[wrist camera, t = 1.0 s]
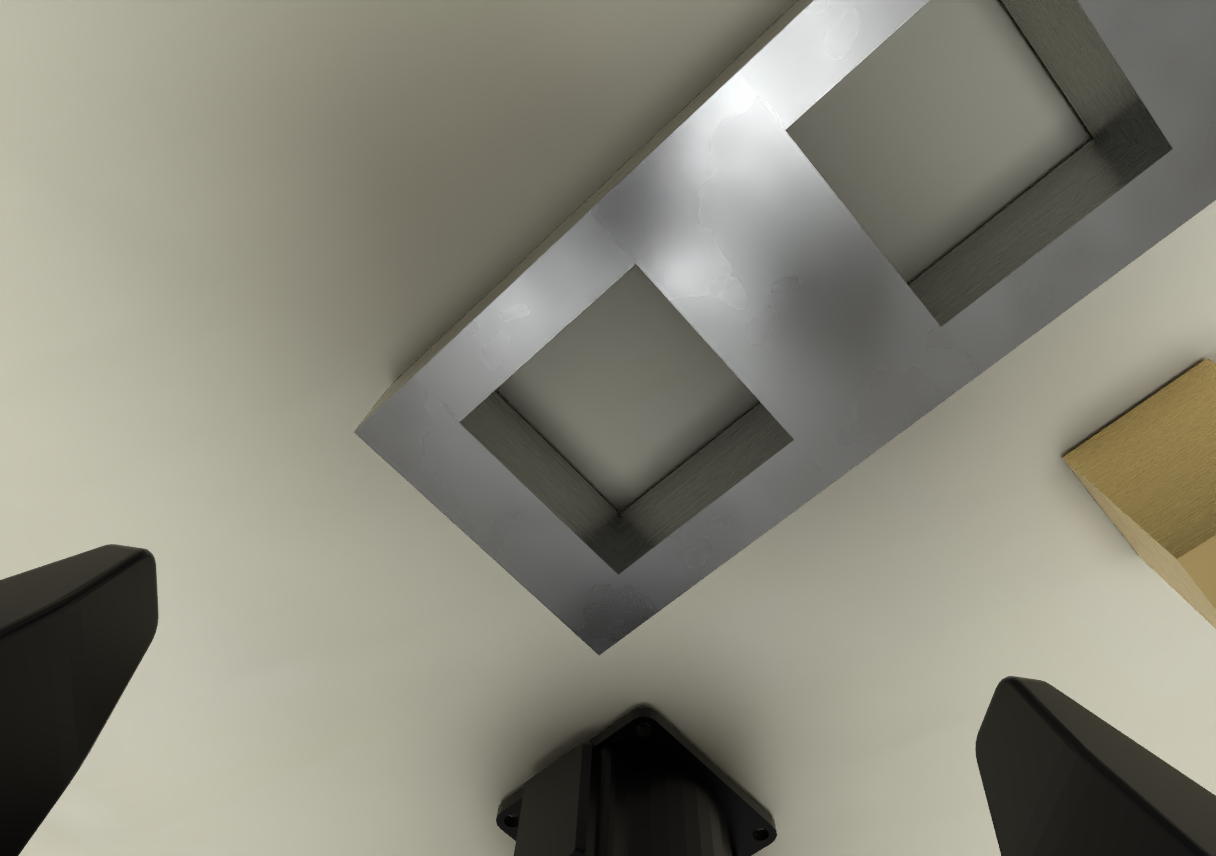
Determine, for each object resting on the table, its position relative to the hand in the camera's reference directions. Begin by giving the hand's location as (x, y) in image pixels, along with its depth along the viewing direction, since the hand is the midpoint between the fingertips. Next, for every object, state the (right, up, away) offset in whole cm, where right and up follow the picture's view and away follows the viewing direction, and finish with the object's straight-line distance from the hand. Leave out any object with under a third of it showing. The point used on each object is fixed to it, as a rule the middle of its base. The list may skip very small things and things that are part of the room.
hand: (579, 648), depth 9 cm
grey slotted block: (+4, +6, +11) cm, 13 cm away
